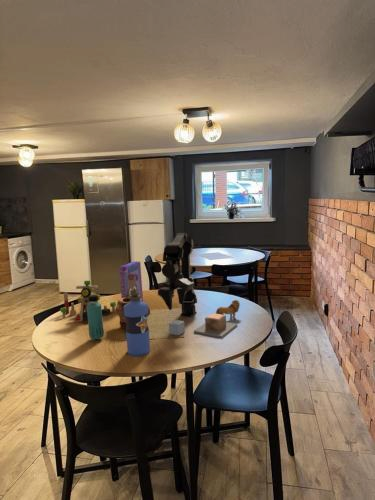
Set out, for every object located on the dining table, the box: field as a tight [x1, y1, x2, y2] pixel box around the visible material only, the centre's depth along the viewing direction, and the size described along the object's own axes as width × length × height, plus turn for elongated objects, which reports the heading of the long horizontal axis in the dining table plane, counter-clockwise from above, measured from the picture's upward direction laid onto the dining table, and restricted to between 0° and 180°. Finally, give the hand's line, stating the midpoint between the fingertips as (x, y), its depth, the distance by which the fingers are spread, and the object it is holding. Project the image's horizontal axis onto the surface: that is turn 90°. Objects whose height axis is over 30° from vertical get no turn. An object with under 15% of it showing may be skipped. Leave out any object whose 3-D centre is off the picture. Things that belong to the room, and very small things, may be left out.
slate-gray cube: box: [168, 319, 186, 336], centre depth 154 cm, size 5×5×5 cm
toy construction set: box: [60, 280, 117, 323], centre depth 184 cm, size 27×22×21 cm
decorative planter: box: [114, 297, 151, 331], centre depth 163 cm, size 20×12×14 cm, turn 66°
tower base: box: [193, 312, 238, 339], centre depth 156 cm, size 14×16×6 cm
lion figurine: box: [215, 299, 241, 320], centre depth 168 cm, size 15×5×9 cm, turn 116°
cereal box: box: [118, 261, 144, 301], centre depth 202 cm, size 17×5×24 cm, turn 162°
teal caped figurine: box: [87, 294, 105, 340], centre depth 149 cm, size 6×7×20 cm
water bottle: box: [124, 290, 151, 357], centre depth 135 cm, size 9×9×25 cm
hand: (176, 306), depth 153 cm, fingers open, 9 cm apart
